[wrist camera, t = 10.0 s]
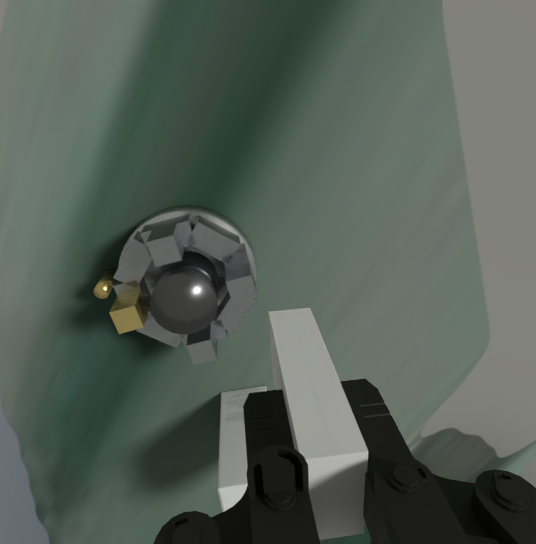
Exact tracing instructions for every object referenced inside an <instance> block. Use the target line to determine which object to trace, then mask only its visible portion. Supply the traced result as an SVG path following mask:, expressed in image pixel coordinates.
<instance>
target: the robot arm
mask: <svg viewBox="0 0 536 544" xmlns="http://www.w3.org/2000/svg"><path fill="white" fill-rule="evenodd" d="M269 324H270V340H271V355H272V371H273V378H274V384H275V389H276V390H272V391H263V392H254V393H249V395H248V397H247V399H246V401H245V403H244V405H243V411H244V425H245V438H246V452H247V466H248V467H247V473H246V474H247V483H248V485H247V488H246V491H245V493H244V495H243V496H242V498H241V499H240V500H239V501H238V502H237V503H236V504H235V505H234V506H233V507H231V508H229V509H228V510H226V511H224V512H222V513H220V514H218V515H216V516H214V517H209V516H208V515H207V514H204V513H201V512H198V511H192V512H184V513H182V514H179V515H177V516H175V517H173V518H171V519H170V520H169V521H168V522H167V523H166V524H165V525H164V526H163V527H162V528H161V530H160V532H159V533H158V535H157V537H156V539H155V541H154V544H320V540H321V539H328V538H336V537H343V536H350V535H357V534H364V521H365V522H366V525H367V528H368V531H369V534H370V537H371V542H370V544H536V488H535V487H534V486H533V485H531V484H530V483H528V482H527V481H526V480H525V479H523V478H522V477H520V476H518V475H515V474H513V473H511V472H508V471H502V470H496V469H495V470H489V471H484V472H483V473H482V474H480V475H479V476H477V479H476V482H475V483H469V482H462V481H456V480H450V479H446V478H442V477H439V476H437V475H434V474H432V473H431V472H430V470H429V469H428V468H427V467H426V466H425V465H423V464H422V463H420V462H419V461H417V460H415V459H414V457H413V456H412V454H411V452H410V450H409V448H408V446H407V445H406V443H405V441H404V439H403V437H402V435H401V433H400V431H399V429H398V427H397V425H396V423H395V421H394V420H393V418H392V416H391V415H390V412H389V410H388V408H387V406H386V405H385V403H384V400H383V398H382V396H381V395H380V393H379V391H378V389H377V388H376V387H374V386H373V385H372V384H371V383H370V382H368V381H367V380H366V379H358V380H350V381H341V382H340V380H339V378H338V375H337V373H336V370H335V368H334V366H333V363H332V361H331V358H330V356H329V353H328V351H327V348H326V346H325V343H324V341H323V338H322V336H321V334H320V331H319V329H318V326H317V324H316V321H315V319H314V316H313V314H312V311H311V309H310V308H302V309H292V310H282V311H272V312H269Z"/></svg>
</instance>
